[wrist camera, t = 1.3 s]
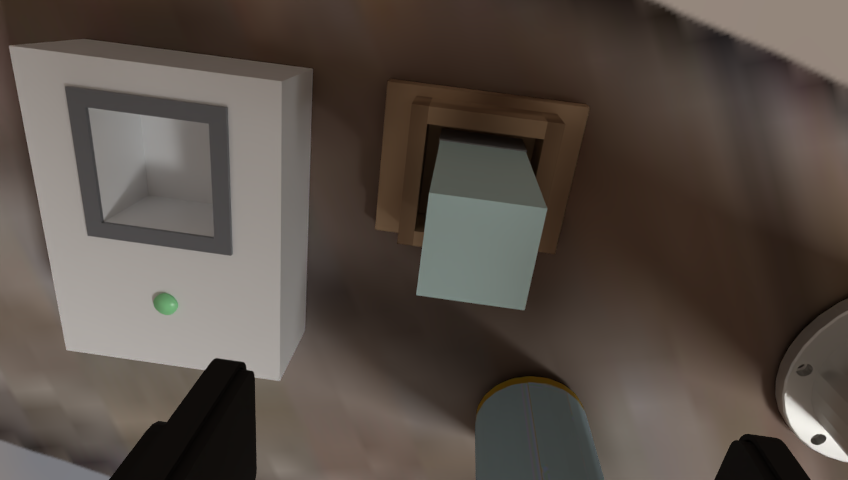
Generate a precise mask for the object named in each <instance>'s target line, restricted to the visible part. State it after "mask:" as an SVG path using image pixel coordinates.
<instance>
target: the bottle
mask: <svg viewBox="0 0 848 480" xmlns="http://www.w3.org/2000/svg"><path fill="white" fill-rule="evenodd" d="M475 455H476V480H604V477H603V473H602V470H601V466H600V463H599V459H598V456H597V452H596V449H595V445H594V441H593V438H592V434H591V431H590V427H589V424H588V420H587V417H586V414H585V411H584V408H583V406H582V404H581V402H580V400H579V399H578V397H577V396H576V394H575V393H574V392H572V391H571V390H570V389H569V388H567V387H566V386H565V385H563V384H561V383H559V382H556V381H554V380H551V379H548V378H544V377H534V376H525V377H519V378H513V379H510V380H507V381H505V382H503V383H500V384H498V385H497V386H495V387H494V388H492V389H491V390H490V391H489V392H488V393H487V394H486V395H485V396H484V397H483V399H482V400H481V402H480V404H479V405H478V408H477V412H476V423H475Z"/></svg>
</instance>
